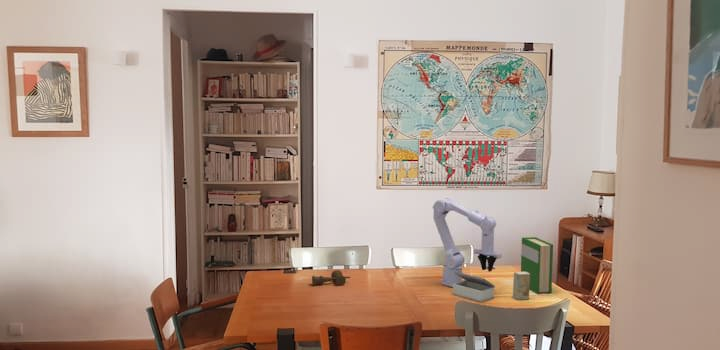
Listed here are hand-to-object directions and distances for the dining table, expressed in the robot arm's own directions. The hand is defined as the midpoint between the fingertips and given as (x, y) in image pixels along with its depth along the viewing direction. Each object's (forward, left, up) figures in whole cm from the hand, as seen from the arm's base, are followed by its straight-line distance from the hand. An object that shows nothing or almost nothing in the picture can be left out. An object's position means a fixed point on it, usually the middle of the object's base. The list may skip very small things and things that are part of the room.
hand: (486, 270), depth 262 cm
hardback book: (+14, +22, -11) cm, 28 cm away
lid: (0, -11, -3) cm, 11 cm away
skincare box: (+17, +3, -11) cm, 20 cm away
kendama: (-61, -47, -11) cm, 78 cm away
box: (0, -11, -10) cm, 15 cm away
